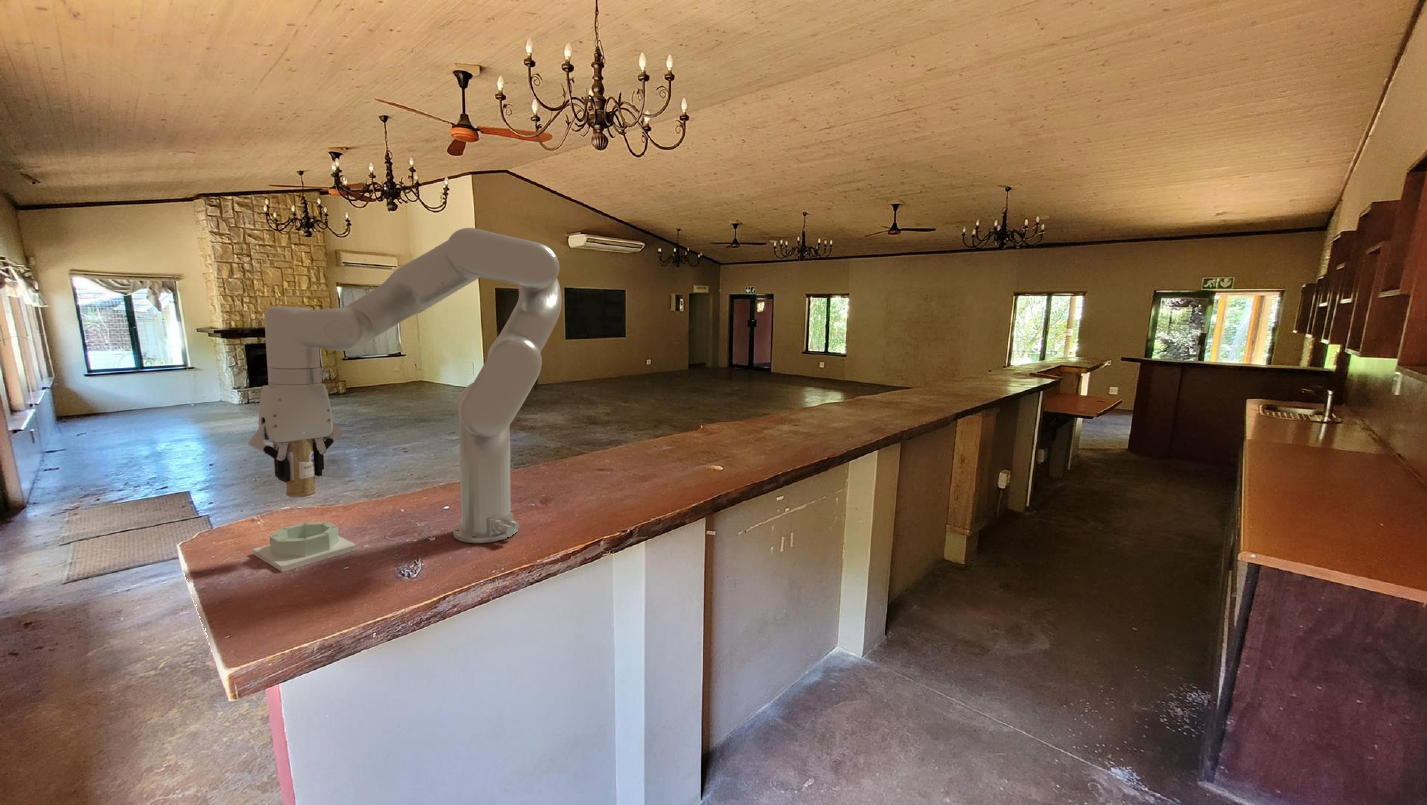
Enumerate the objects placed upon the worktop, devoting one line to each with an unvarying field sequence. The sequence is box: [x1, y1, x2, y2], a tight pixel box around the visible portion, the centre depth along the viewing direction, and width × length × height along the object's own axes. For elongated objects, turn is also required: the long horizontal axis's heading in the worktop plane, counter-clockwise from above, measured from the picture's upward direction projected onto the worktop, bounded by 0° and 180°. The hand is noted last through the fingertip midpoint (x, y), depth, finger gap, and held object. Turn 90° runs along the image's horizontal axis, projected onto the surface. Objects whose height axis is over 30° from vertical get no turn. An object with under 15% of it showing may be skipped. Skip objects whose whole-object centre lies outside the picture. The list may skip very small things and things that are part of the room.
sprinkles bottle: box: [285, 432, 317, 499], centre depth 102 cm, size 5×5×13 cm
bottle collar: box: [252, 521, 358, 573], centre depth 104 cm, size 12×12×4 cm
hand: (300, 476), depth 102 cm, fingers closed on sprinkles bottle, 4 cm apart
